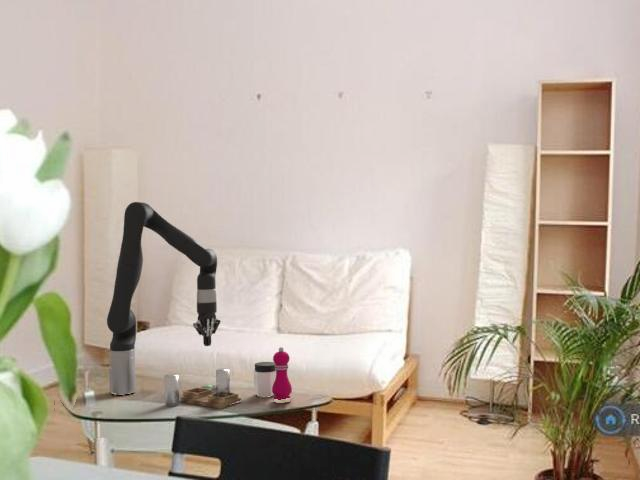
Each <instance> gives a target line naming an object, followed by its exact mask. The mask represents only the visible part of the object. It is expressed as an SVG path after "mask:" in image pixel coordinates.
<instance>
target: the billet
mask: <svg viewBox="0 0 640 480" xmlns="http://www.w3.org/2000/svg"><path fill="white" fill-rule="evenodd" d="M179 376H180V375H179V373H167V374H164V407H167V408H174V407H175V408H176V407H178V406H180V385H179V383H180V381H179V380H180V379H179Z"/></svg>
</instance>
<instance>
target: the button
mask: <svg viewBox="0 0 640 480" xmlns="http://www.w3.org/2000/svg"><path fill="white" fill-rule="evenodd" d="M203 386H204V388H208V389H209V388H212V384H205V385H203Z"/></svg>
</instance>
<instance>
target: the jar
mask: <svg viewBox="0 0 640 480" xmlns="http://www.w3.org/2000/svg"><path fill="white" fill-rule="evenodd" d="M275 365H276V364H275V363H274V361H260V362H255V363H254V370H253V390H254V391H253V394H255V396H256V395H257V396H271V395H274V394H273V392H272V387H273V384H274V381H275V379H276V369H275ZM257 396H256V397H257Z"/></svg>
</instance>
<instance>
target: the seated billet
mask: <svg viewBox="0 0 640 480" xmlns="http://www.w3.org/2000/svg"><path fill="white" fill-rule="evenodd" d="M215 386H216V396H218V397H227V396H230V392H231V371H230V368H226V367H225V368H218V369H217V368H216V369H215Z"/></svg>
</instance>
